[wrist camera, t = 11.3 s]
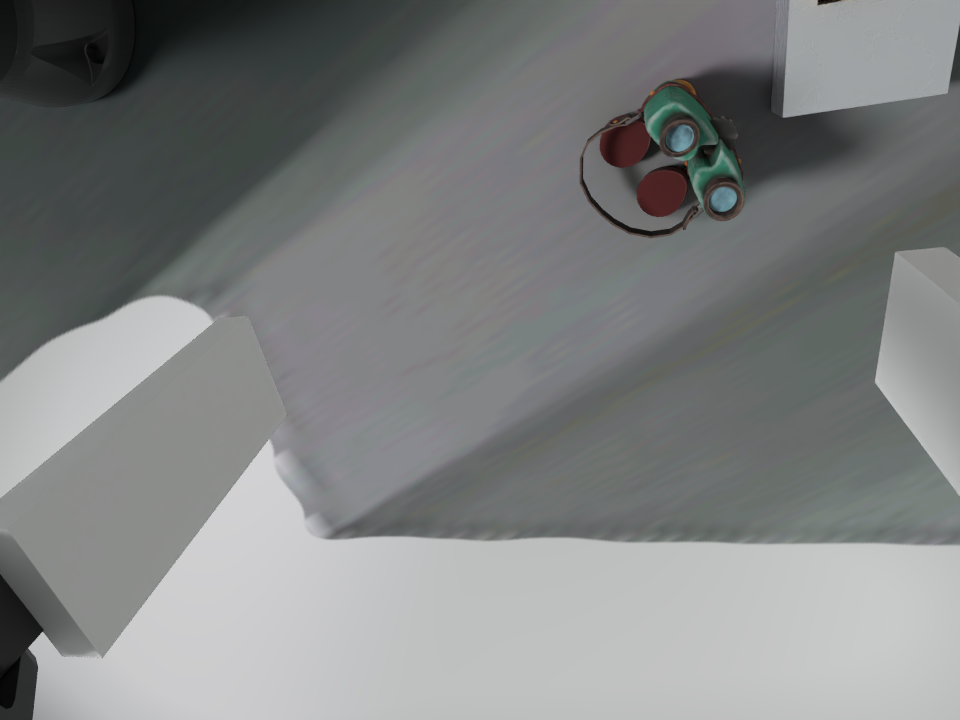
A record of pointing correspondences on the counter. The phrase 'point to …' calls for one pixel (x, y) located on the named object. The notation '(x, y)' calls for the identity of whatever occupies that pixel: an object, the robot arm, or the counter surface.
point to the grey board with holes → (860, 52)
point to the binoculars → (675, 157)
